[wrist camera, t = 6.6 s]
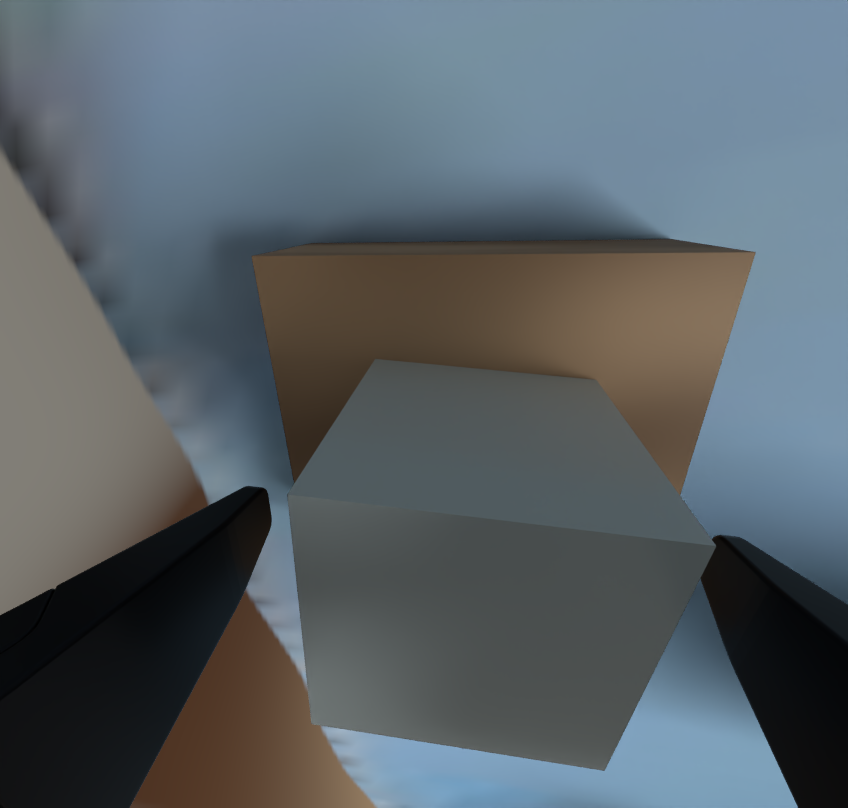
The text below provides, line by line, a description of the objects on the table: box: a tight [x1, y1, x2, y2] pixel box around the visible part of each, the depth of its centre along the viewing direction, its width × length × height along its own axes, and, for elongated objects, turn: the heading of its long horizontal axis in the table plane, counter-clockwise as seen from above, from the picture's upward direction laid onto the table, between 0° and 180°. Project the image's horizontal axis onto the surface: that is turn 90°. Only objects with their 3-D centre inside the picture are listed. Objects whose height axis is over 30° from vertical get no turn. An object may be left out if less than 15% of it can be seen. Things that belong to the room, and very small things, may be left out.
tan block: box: [252, 239, 756, 495], centre depth 12 cm, size 10×10×4 cm
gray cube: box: [287, 359, 716, 771], centre depth 8 cm, size 5×5×5 cm
